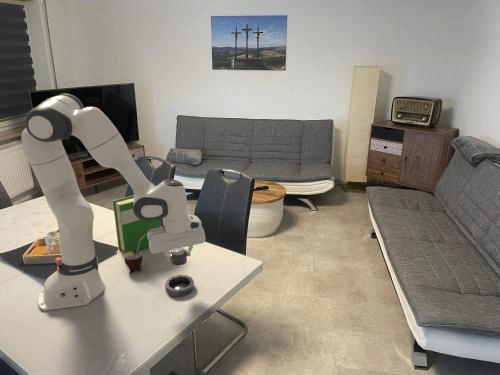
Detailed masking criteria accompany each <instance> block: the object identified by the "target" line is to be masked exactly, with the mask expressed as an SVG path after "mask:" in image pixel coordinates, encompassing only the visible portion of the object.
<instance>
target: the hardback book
mask: <svg viewBox="0 0 500 375" xmlns="http://www.w3.org/2000/svg"><path fill="white" fill-rule="evenodd" d="M112 204H113V212H114V213H113V214H114V221H115V230H116V238H117V245H118V250H119V251H123V252H124V255H125V254H126V253H127V252H128V251H129V250H133V249H136V250H137V248H138V244H139V240H140V239H141V237H143V236H144V235H145V234H146V235H145V236H144V237H143V238H142V240H141V243H140V245H139V249H138V250H139V251H140V252H141V251H144V250H147V249H149V240H148V238H147V232H148V231H149V230H151V229H152V228H157V227H161V219H158V220H154V221H148V222H147V221H142V220H140V219H138V218H137V217H136V216H135V214H134V212H133V205H134V194H133V195H129V196H125V197H121V198H117V199H114V200H112Z"/></svg>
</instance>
